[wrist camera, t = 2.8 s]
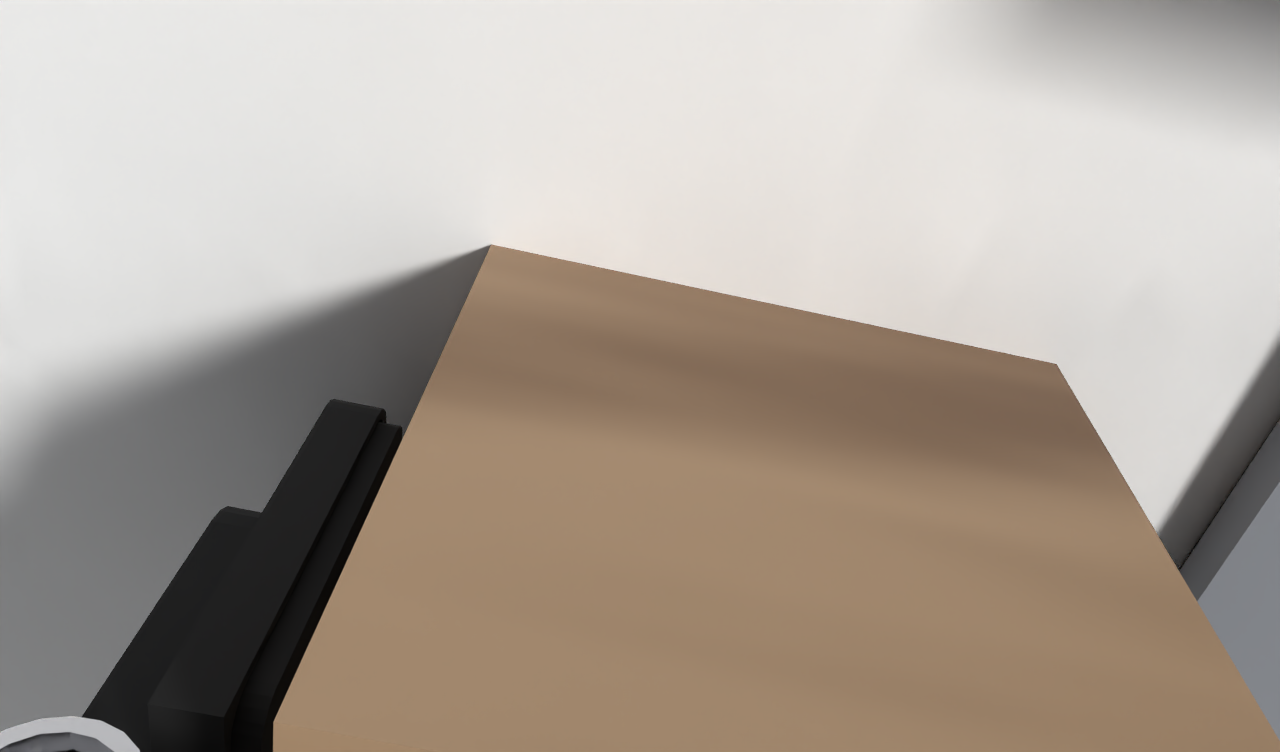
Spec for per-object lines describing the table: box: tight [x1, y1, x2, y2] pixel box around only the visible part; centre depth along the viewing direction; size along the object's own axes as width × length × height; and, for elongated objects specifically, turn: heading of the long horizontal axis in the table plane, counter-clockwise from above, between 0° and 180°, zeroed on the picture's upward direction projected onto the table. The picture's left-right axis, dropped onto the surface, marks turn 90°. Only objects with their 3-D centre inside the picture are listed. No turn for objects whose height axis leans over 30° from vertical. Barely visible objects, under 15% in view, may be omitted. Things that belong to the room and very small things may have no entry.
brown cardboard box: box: [273, 245, 1280, 752], centre depth 9 cm, size 6×6×6 cm
